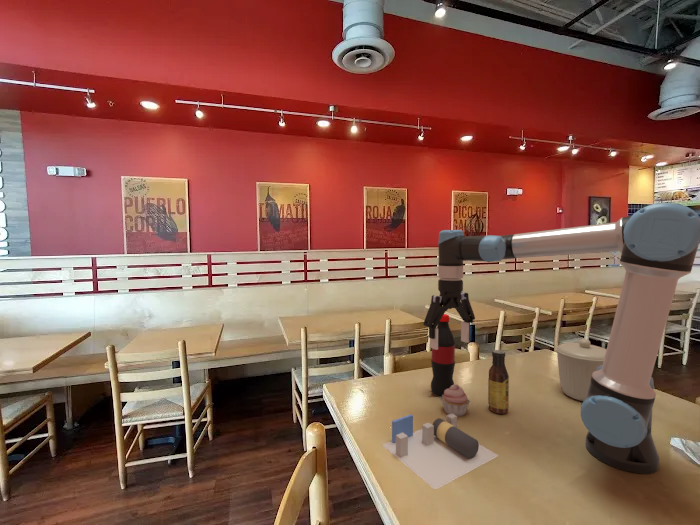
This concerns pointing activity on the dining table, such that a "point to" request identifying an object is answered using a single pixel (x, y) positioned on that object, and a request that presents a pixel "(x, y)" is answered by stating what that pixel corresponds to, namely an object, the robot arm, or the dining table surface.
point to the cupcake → (455, 400)
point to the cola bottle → (443, 359)
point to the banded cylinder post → (455, 438)
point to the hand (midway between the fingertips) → (449, 345)
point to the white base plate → (432, 452)
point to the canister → (578, 366)
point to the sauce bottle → (498, 384)
